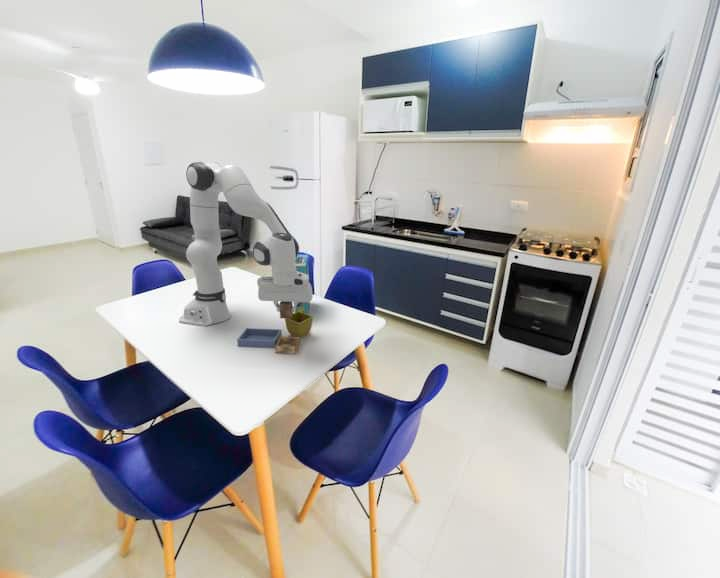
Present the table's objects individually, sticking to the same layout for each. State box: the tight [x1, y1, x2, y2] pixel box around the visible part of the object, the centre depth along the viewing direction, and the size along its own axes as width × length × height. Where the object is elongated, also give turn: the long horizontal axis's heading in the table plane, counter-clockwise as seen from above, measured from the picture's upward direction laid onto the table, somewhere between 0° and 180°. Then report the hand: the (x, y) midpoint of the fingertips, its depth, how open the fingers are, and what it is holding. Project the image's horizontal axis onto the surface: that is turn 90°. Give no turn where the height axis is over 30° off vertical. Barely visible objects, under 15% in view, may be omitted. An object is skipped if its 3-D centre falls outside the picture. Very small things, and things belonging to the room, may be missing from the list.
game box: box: [293, 254, 310, 315], centre depth 164 cm, size 20×6×27 cm, turn 5°
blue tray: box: [236, 327, 283, 349], centre depth 137 cm, size 15×10×4 cm
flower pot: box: [284, 311, 314, 339], centre depth 143 cm, size 9×9×9 cm
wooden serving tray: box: [274, 335, 302, 355], centre depth 132 cm, size 8×8×4 cm
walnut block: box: [278, 301, 294, 319], centre depth 127 cm, size 4×4×6 cm
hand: (286, 311), depth 127 cm, fingers closed on walnut block, 4 cm apart
